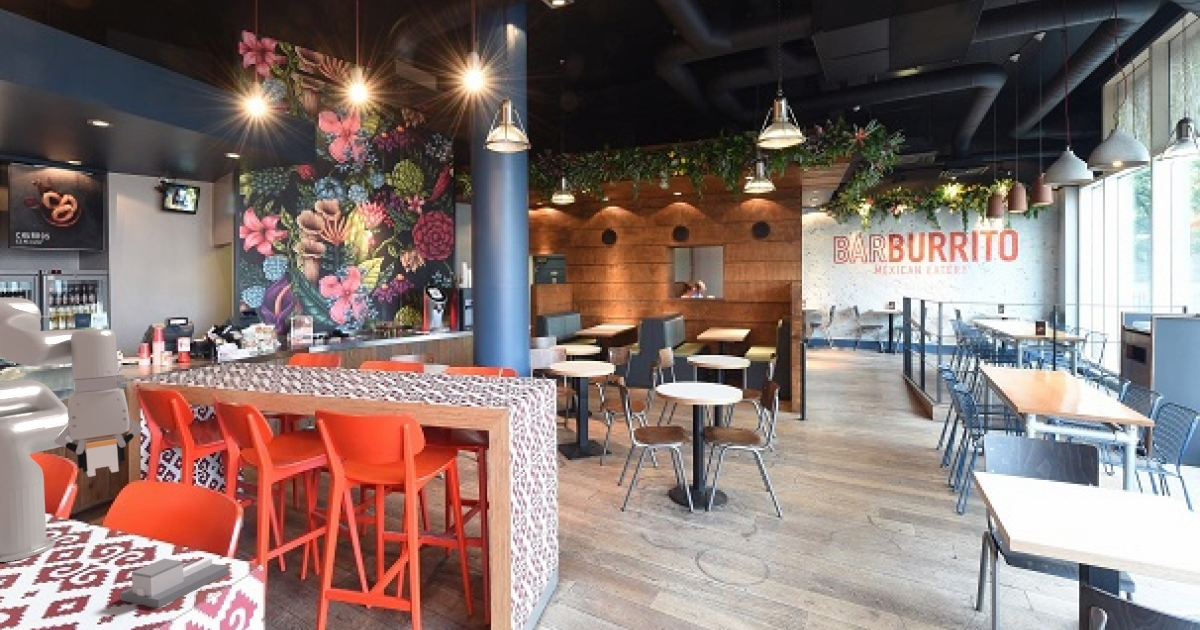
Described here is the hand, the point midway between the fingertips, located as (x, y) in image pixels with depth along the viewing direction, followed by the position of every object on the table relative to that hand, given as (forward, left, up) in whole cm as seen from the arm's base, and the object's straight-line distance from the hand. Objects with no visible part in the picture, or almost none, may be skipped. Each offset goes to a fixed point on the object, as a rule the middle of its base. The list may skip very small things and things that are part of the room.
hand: (102, 467), depth 127 cm
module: (0, 0, -1) cm, 1 cm away
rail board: (+28, -5, -21) cm, 35 cm away
